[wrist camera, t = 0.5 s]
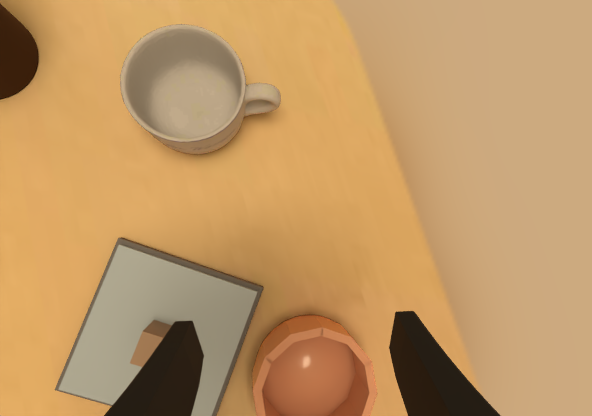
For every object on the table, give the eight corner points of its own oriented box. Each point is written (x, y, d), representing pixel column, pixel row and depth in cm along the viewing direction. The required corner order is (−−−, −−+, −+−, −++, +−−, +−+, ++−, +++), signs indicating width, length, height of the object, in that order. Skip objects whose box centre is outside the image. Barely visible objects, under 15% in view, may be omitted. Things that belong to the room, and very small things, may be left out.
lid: (206, 427, 34) (200, 455, 30) (61, 386, 32) (34, 410, 28) (257, 290, 35) (258, 299, 31) (121, 244, 33) (103, 247, 29)
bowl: (338, 436, 36) (352, 470, 31) (238, 406, 35) (236, 436, 30) (372, 333, 37) (391, 350, 32) (276, 300, 36) (280, 313, 31)
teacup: (137, 146, 35) (103, 123, 27) (161, 52, 35) (136, 3, 28) (262, 176, 36) (266, 164, 29) (283, 87, 37) (292, 50, 29)
